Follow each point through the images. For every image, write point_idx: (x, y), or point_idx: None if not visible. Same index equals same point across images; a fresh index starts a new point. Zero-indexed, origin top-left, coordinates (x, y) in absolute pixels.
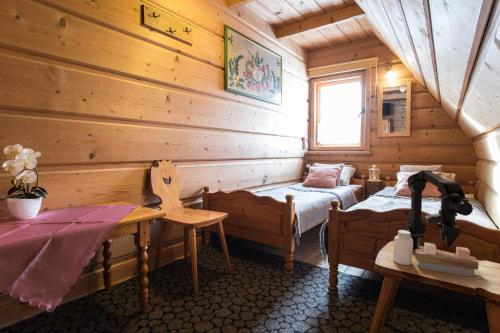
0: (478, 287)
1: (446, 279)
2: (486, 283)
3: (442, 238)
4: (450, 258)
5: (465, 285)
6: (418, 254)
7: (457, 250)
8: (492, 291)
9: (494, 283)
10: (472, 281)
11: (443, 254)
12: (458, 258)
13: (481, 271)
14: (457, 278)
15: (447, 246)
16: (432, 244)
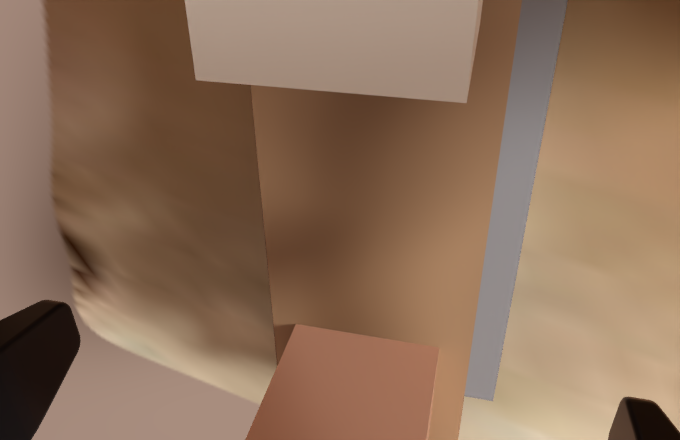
0: (91, 258)
1: (86, 31)
2: (213, 345)
3: (628, 438)
4: (267, 227)
5: (61, 172)
6: None
7: (342, 421)
8: (84, 320)
9: (247, 394)
10: (191, 262)
11: (391, 177)
12: (296, 327)
13: (480, 421)
14: (185, 156)
15: (42, 310)
16: (362, 22)
